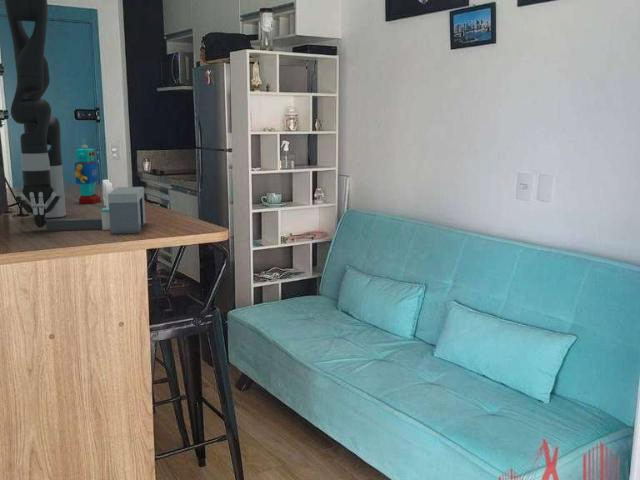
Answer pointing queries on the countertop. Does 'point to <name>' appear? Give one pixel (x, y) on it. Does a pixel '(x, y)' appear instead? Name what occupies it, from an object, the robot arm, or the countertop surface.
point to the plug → (80, 223)
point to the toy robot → (86, 175)
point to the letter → (106, 191)
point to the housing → (126, 210)
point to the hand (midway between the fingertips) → (40, 226)
